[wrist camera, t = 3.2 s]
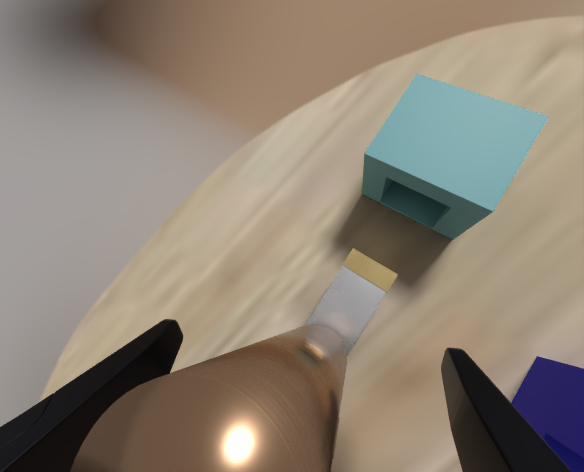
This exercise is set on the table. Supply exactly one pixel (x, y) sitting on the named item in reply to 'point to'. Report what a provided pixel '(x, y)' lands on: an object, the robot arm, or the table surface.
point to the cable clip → (555, 408)
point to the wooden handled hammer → (246, 397)
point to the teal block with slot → (447, 155)
